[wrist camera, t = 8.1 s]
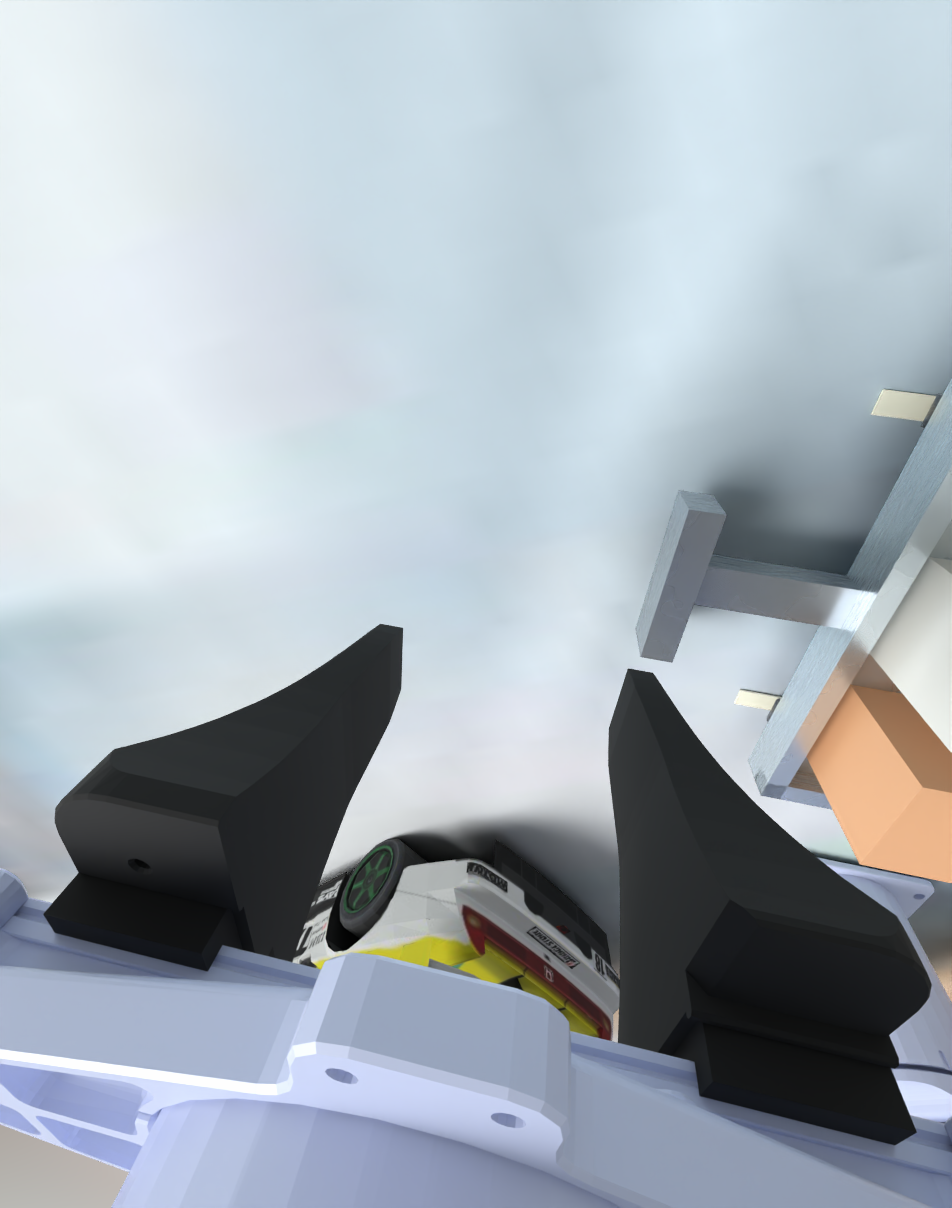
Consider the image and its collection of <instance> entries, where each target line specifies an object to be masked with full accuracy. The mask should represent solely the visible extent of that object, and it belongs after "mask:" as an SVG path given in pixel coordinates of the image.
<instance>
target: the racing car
mask: <svg viewBox="0 0 952 1208" xmlns="http://www.w3.org/2000/svg"><path fill="white" fill-rule="evenodd" d="M351 952H353V953H363V954H372V955H380V956H384V957H388V958H393V959H397V960H401V961H405V962H409V963H413V964H417V965H422V966H426V967H430V968H434V969H438V970H442V971H446V972H450V973H455V974H459V975H463V976H467V977H471V978H475V979H479V980H484V981H488V982H492V983H496V984H500V985H504V986H508V987H513V988H517V989H519V990H522V991H525V992H527V993H530V994H533V995H535V996H538V997H540V998H543V999H545V1000H547V1001H548V1002H549V1003H550V1004H551V1005H553V1006H554V1007H555V1008H556V1009H557V1010H558V1011H560V1012H561V1013H562V1014H563V1015H564V1016H565V1018H566V1019H567V1020H568V1021H569V1026H570V1031H572V1032H576V1033H580V1034H584V1035H588V1036H592V1037H596V1038H600V1039H604V1040H608V1041H612V1038H613V1014H614V1013H615V1012H616V1011H617V1010H618V1009H619V994H620V980H619V978H618V974H617V973H616V971H615V970H614V969H613V967H612V966H611V960H610V954H609V948H608V942H607V936H606V934H605V933H604V932H603V931H602V930H601V929H600V928H599V927H598V926H597V925H596V924H595V923H594V922H593V921H592V920H591V919H590V917H588V916H587V915H586V914H585V913H584V912H583V911H582V910H581V909H580V908H579V907H577V906H576V905H575V904H574V903H573V902H572V901H571V900H570V899H569V898H568V897H566V896H565V895H564V894H563V893H562V892H561V891H560V890H559V889H558V888H557V887H555V886H554V885H553V884H552V883H550V882H549V881H548V880H547V879H546V878H544V877H543V876H542V875H541V874H540V873H538V872H537V871H536V870H535V869H534V868H532V867H531V866H530V865H529V864H527V863H526V862H525V861H524V860H523V859H521V858H520V857H519V856H518V855H516V854H515V853H514V852H512V851H511V850H510V849H508V848H507V847H506V846H504V845H503V844H502V843H500V842H499V841H498V840H496V839H495V864H487V863H485V862H484V861H482V860H479V859H476V858H463V859H456V860H448V861H441V862H433V863H428V862H427V861H425V860H424V859H423V858H422V857H420V856H419V855H418V854H417V853H415V852H414V851H413V850H412V849H410V848H409V847H408V846H407V845H405V844H404V843H403V842H402V841H400V840H399V839H390V840H386V841H384V842H382V843H380V844H378V845H377V846H375V847H374V848H373V849H372V850H371V851H370V852H369V853H367V855H366V856H365V857H364V858H363V859H362V861H361V862H360V863H359V864H358V865H357V867H356V869H355V870H354V872H353V873H352V875H351V877H350V876H349V875H347V874H346V873H344V874H342V875H340V876H338V877H336V878H334V879H332V880H330V881H329V882H327V883H325V884H323V885H321V886H319V887H317V890H316V893H315V896H314V899H313V902H312V905H311V908H310V911H309V914H308V916H307V919H306V922H305V925H304V928H303V931H302V934H301V937H300V940H299V943H298V947H297V950H296V953H295V956H294V959H293V963H297V964H301V965H305V966H309V967H313V968H317V969H322V966H323V964H324V962H325V961H327V960H329V959H331V958H334V957H337V956H341V955H344V954H347V953H351Z"/></svg>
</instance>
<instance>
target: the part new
mask: <svg viewBox="0 0 952 1208" xmlns="http://www.w3.org/2000/svg"><path fill="white" fill-rule="evenodd" d="M806 757H807V759H808V761H809V763H810V765H811V767H812V769H813V771H814V773H815V775H816V777H817V779H818V781H819V783H820V785H821V787H822V789H823V791H824V793H825V795H826V797H827V799H828V801H829V803H830V805H831V807H832V809H833V811H834V813H835V815H836V818H837V820H838V822H839V824H840V826H841V828H842V830H843V832H844V834H845V836H846V838H847V840H848V842H849V844H850V846H851V848H852V850H853V852H854V854H855V856H856V858H857V860H858V862H859V864H860V865H865V866H870V867H875V868H880V869H885V870H889V871H894V872H899V873H904V874H909V875H914V876H919V877H923V878H928V879H933V880H938V881H943V882H948V883H952V753H951V752H950V751H949V750H948V748H947V747H946V746H945V745H944V743H943V742H942V741H941V740H940V739H939V737H938V736H937V735H936V734H935V732H934V731H933V730H932V729H931V728H930V726H929V725H928V724H927V723H926V722H925V720H924V719H923V718H922V717H921V715H920V714H919V713H918V712H917V711H916V709H915V708H914V707H913V706H912V704H911V703H910V702H909V701H908V700H907V698H906V697H905V696H904V695H903V694H902V693H896V692H890V691H885V690H879V689H873V688H868V687H862V686H856V685H851V684H850V686H849V687H848V689H847V691H846V692H845V694H844V696H843V697H842V699H841V700H840V702H839V704H838V705H837V707H836V709H835V710H834V712H833V713H832V715H831V717H830V718H829V720H828V722H827V723H826V725H825V727H824V728H823V730H822V731H821V733H820V735H819V736H818V738H817V740H816V741H815V743H814V744H813V746H812V748H811V749H810V751H809V753H808V754H807V756H806Z"/></svg>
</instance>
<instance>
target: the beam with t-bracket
mask: <svg viewBox="0 0 952 1208" xmlns="http://www.w3.org/2000/svg"><path fill="white" fill-rule="evenodd" d="M921 427H923V428H925V429H924V431H923V433H922V435H921V437H920V438H919V440H918V442H917V444H916V446H915V448H914V450H913V452H912V453H911V455H910V457H909V459H908V461H907V463H906V465H905V467H904V468H903V470H902V472H901V474H900V476H899V478H898V480H897V482H896V484H895V485H894V487H893V489H892V491H891V493H890V495H889V497H888V499H887V500H886V502H885V504H884V506H883V508H882V510H881V512H880V514H879V515H878V517H877V519H876V521H875V523H874V525H873V527H872V529H871V530H870V532H869V534H868V536H867V538H866V540H865V542H864V544H863V545H862V547H861V549H860V551H859V553H858V555H857V557H856V559H855V560H854V562H853V564H852V566H851V568H850V570H849V572H848V574H847V575H842V574H835V573H829V572H823V571H816V570H810V569H804V568H797V567H791V566H785V565H778V564H772V563H766V562H759V561H753V560H746V559H740V558H734V557H727V556H721V555H715V554H713V552H714V549H715V546H716V543H717V541H718V538H719V535H720V533H721V530H722V527H723V525H724V522H725V519H726V517H727V515H726V513H725V512H724V510H723V509H722V507H721V506H720V504H719V503H718V501H717V500H716V499H715V497H714V496H713V495H708V494H701V493H694V492H688V491H681V490H679V491H678V495H677V498H676V501H675V504H674V507H673V511H672V514H671V517H670V520H669V523H668V527H667V530H666V533H665V536H664V539H663V543H662V546H661V549H660V552H659V556H658V559H657V562H656V565H655V568H654V572H653V575H652V578H651V581H650V584H649V588H648V591H647V594H646V597H645V600H644V604H643V607H642V610H641V613H640V616H639V620H638V623H637V626H636V634H637V640H638V645H639V651H640V657H644V658H649V659H655V660H661V661H666V662H673V659H674V657H675V654H676V651H677V648H678V646H679V643H680V640H681V638H682V635H683V632H684V630H685V627H686V624H687V622H688V619H689V616H690V613H691V611H692V608H693V605H700V606H706V607H712V608H718V609H724V610H730V611H736V612H742V613H748V614H754V615H760V616H766V617H772V618H778V619H784V620H790V621H796V622H802V623H808V624H814V625H820V626H819V628H818V630H817V632H816V634H815V635H814V637H813V639H812V641H811V643H810V645H809V647H808V649H807V650H806V652H805V654H804V656H803V658H802V660H801V662H800V664H799V665H798V667H797V669H796V671H795V673H794V675H793V677H792V679H791V680H790V682H789V684H788V686H787V688H786V690H785V692H784V694H783V696H782V697H781V698H778V699H777V700H776V701H775V703H774V705H773V707H772V709H771V711H770V712H769V714H768V716H767V721H768V724H767V726H766V727H765V729H764V731H763V733H762V735H761V737H760V739H759V741H758V742H757V744H756V746H755V748H754V750H753V752H752V754H751V756H750V757H749V759H748V762H749V765H750V767H751V770H752V773H753V775H754V778H755V781H756V784H757V786H758V789H759V792H760V795H762V796H767V797H772V798H777V799H782V800H787V801H792V802H797V803H802V804H807V805H812V806H817V807H822V808H827V809H832V807H831V805H830V803H829V801H828V799H827V797H826V795H825V793H824V791H823V789H822V787H821V785H820V783H819V781H818V779H817V777H816V775H815V773H814V771H813V769H812V767H811V765H810V763H809V761H808V759H807V757H806V756H807V754H808V753H809V751H810V749H811V748H812V746H813V744H814V743H815V741H816V740H817V738H818V736H819V735H820V733H821V731H822V730H823V728H824V727H825V725H826V723H827V722H828V720H829V718H830V717H831V715H832V713H833V712H834V710H835V709H836V707H837V705H838V704H839V702H840V700H841V699H842V697H843V696H844V694H845V692H846V691H847V689H848V687H849V686H850V684H851V685H856V686H862V687H868V688H873V689H879V690H885V691H890V692H896V693H902V692H901V691H900V690H899V689H898V687H897V686H896V685H895V684H894V683H893V681H892V680H891V679H890V678H889V676H888V675H887V674H886V673H885V672H884V670H883V669H882V668H881V667H880V665H879V664H878V663H877V662H876V661H875V659H874V658H873V657H872V656H871V655H870V652H871V650H872V648H873V647H874V645H875V643H876V642H877V640H878V638H879V637H880V635H881V634H882V632H883V630H884V629H885V627H886V625H887V624H888V622H889V621H890V619H891V617H892V616H893V614H894V612H895V611H896V609H897V608H898V606H899V604H900V603H901V601H902V599H903V598H904V596H905V594H906V593H907V591H908V590H909V588H910V586H911V585H912V583H913V581H914V580H915V578H916V577H917V575H918V573H919V572H920V570H921V568H922V567H923V565H924V563H925V562H926V560H927V559H928V557H933V558H940V559H946V560H952V378H951V380H950V382H949V384H948V386H947V388H946V390H945V392H944V393H943V394H937V396H936V398H935V400H934V402H933V404H932V405H931V407H930V409H929V411H928V413H927V415H926V417H925V419H924V421H923V423H922V424H921Z"/></svg>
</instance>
